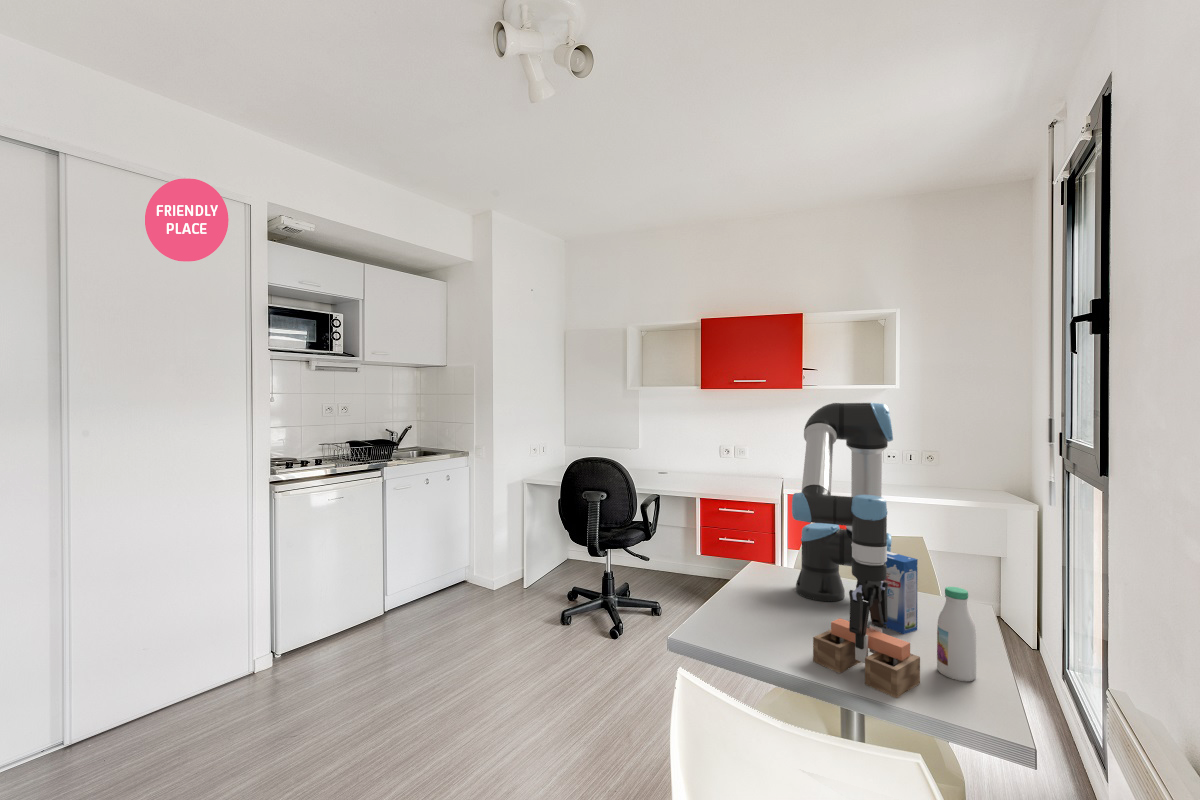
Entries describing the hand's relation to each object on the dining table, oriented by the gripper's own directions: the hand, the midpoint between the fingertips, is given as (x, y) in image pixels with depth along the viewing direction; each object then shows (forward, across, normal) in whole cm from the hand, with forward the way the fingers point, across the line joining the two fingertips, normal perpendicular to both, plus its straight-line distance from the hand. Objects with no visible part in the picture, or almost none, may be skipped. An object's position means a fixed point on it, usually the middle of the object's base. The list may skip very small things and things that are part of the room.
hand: (868, 657), depth 128 cm
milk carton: (+3, -31, -9) cm, 32 cm away
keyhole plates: (+3, +2, 0) cm, 4 cm away
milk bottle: (+3, -15, +13) cm, 20 cm away
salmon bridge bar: (+1, 0, 0) cm, 1 cm away
